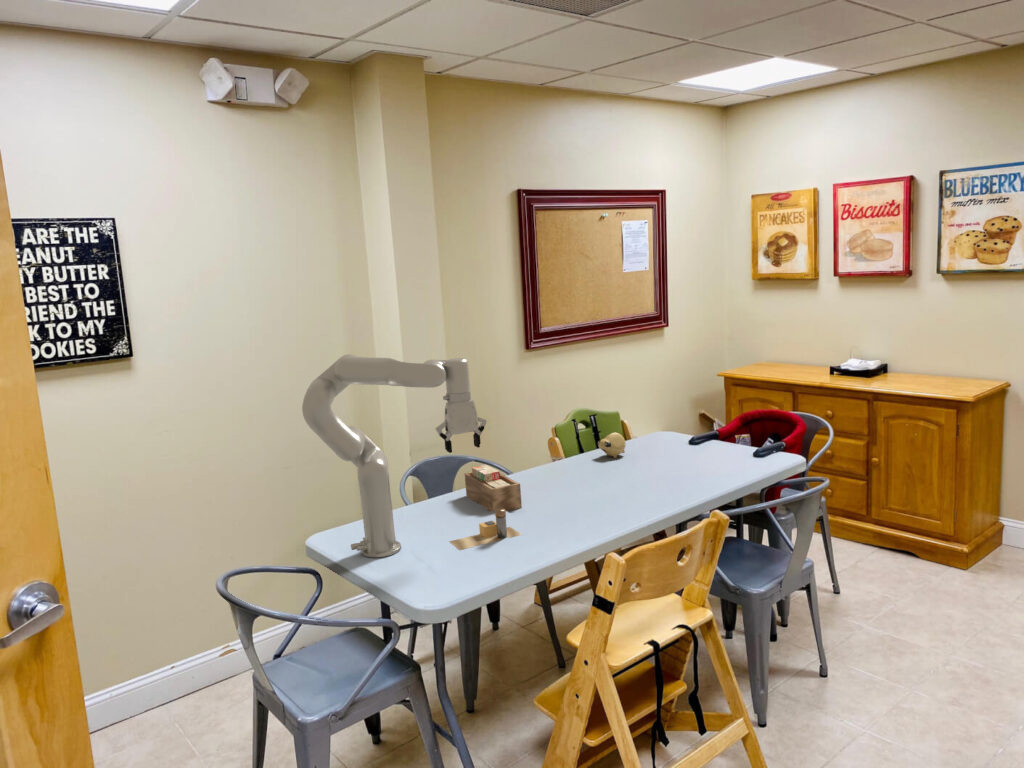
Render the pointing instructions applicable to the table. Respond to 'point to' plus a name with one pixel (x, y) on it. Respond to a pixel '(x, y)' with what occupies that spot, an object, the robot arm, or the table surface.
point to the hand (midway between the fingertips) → (463, 449)
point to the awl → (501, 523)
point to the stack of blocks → (488, 476)
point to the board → (480, 539)
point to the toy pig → (612, 444)
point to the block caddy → (494, 493)
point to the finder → (488, 528)
